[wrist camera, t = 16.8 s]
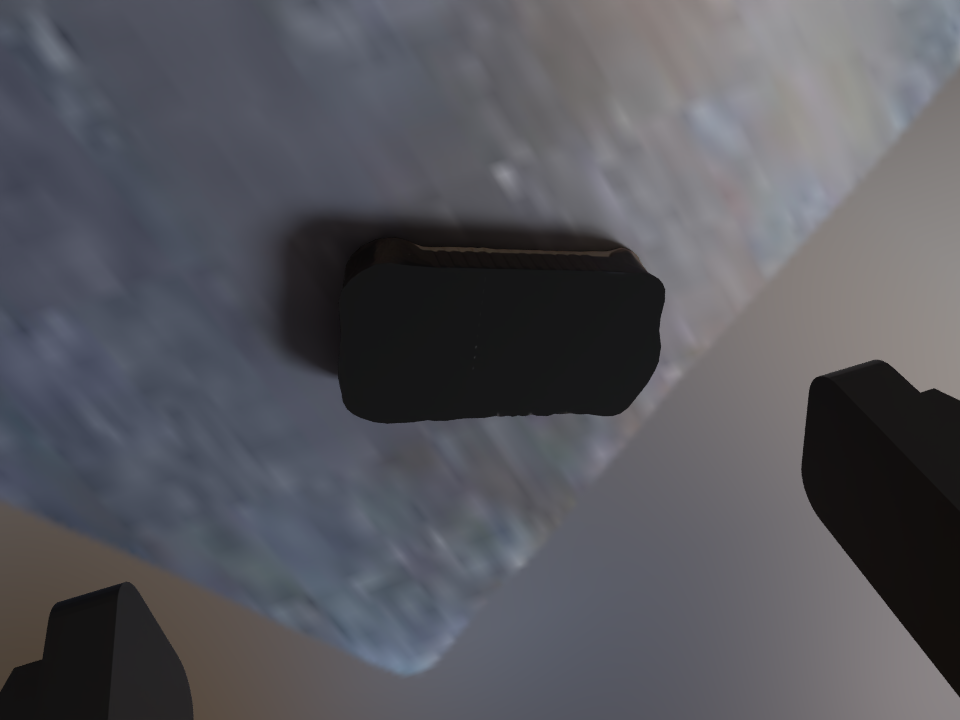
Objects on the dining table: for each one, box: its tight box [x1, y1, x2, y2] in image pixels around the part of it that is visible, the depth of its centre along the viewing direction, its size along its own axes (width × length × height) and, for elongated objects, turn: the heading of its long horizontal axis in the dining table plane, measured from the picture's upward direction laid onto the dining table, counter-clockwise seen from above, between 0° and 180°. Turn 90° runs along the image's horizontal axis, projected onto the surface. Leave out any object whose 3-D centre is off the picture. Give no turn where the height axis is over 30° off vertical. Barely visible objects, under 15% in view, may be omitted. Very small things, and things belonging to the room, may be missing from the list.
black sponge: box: [338, 238, 665, 424], centre depth 44 cm, size 16×8×4 cm, turn 78°
